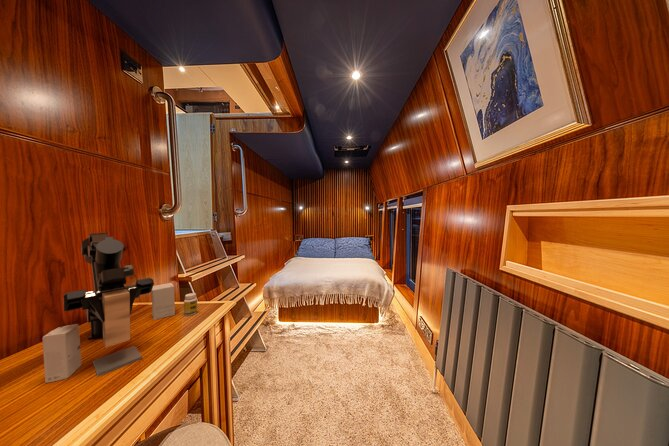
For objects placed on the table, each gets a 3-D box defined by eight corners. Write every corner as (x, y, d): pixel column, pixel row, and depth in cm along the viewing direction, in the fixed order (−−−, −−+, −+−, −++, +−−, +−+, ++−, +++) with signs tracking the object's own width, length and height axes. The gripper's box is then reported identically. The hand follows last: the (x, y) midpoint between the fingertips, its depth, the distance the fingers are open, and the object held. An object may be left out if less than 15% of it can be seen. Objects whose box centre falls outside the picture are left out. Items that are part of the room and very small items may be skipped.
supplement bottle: (190, 316, 92) (190, 296, 92) (181, 315, 93) (181, 296, 93) (200, 311, 97) (199, 293, 97) (191, 310, 98) (190, 292, 98)
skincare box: (68, 378, 57) (66, 333, 57) (43, 384, 55) (40, 337, 55) (82, 364, 63) (80, 322, 62) (60, 369, 61) (58, 326, 60)
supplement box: (173, 309, 99) (172, 282, 99) (175, 315, 94) (174, 286, 93) (151, 314, 94) (151, 285, 94) (152, 320, 89) (152, 290, 88)
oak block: (103, 340, 63) (102, 293, 63) (126, 333, 67) (125, 288, 67) (105, 347, 60) (104, 297, 60) (130, 339, 64) (129, 292, 64)
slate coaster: (93, 363, 63) (93, 360, 63) (134, 348, 70) (134, 345, 70) (97, 376, 58) (97, 373, 58) (142, 358, 65) (141, 356, 65)
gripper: (61, 263, 58) (65, 315, 52) (151, 253, 73) (163, 293, 66) (62, 286, 63) (65, 337, 57) (145, 272, 78) (155, 311, 71)
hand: (117, 317), depth 63 cm, fingers closed on oak block, 5 cm apart
